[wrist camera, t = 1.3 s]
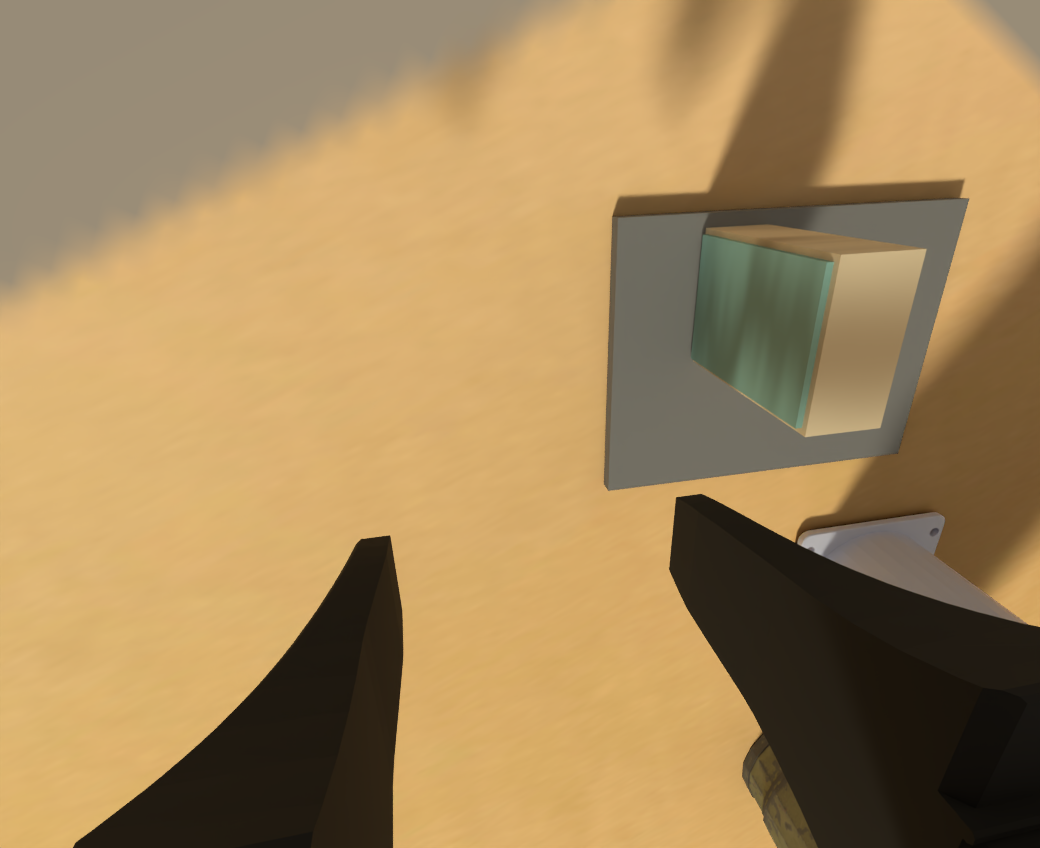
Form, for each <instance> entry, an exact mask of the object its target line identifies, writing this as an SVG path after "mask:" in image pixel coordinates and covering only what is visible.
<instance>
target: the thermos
mask: <svg viewBox="0 0 1040 848" xmlns="http://www.w3.org/2000/svg"><path fill="white" fill-rule="evenodd" d="M742 777H743V779H744V781H745V783H746V785H747V788H748V789H749V791H750V793H751V795H752V797H754V798H755V800H756V802H757V803H758V805H759V807H760V809H761V811H762V814H763V816H764V819H763V821H764V823H765V825H766V827H767V829H768V831H769V833H770V835H771V837H772V839H773V841H774V842H775V844H776V846H777V848H818V847H817V845H816V842H815V840H814V838H813V836H812V833H811V831H810V829H809V827H808V825H807V822H806V820H805V818H804V816H803V813H802V811H801V809H800V807H799V805H798V803H797V801H796V798H795V796H794V794H793V792H792V790H791V788H790V786H789V784H788V782H787V780H786V778H785V776H784V774H783V771H782V769H781V767H780V765H779V763H778V761H777V759H776V757H775V755H774V753H773V751H772V749H771V747H770V745H769V743H768V741H767V739H766V737H765V736H764V734H763V735H762V736H761V737H760V738H759V739H758V741H757V742H756V743H755V744H754V745H753V746H752V747H751V749H750V751H749V753H748V755H747V757H746V759H745V761H744V763H743V774H742Z"/></svg>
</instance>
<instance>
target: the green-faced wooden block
mask: <svg viewBox="0 0 1040 848" xmlns="http://www.w3.org/2000/svg"><path fill="white" fill-rule="evenodd" d="M926 250H927V249H925V248H918V247H912V246H905V245H899V244H892V243H886V242H879V241H873V240H866V239H860V238H854V237H847V236H841V235H834V234H828V233H821V232H815V231H808V230H802V229H795V228H789V227H782V226H776V225H769V224H763V225H746V226H729V227H712V228H706V233H705V235H703V238H702V248H701V259H700V269H699V279H698V290H697V300H696V310H695V321H694V331H693V341H692V352H691V359H693V362H695V363H696V364H698V365H699V366H701V367H702V368H704V369H705V370H707V371H708V372H710V373H711V374H712V375H714V376H715V377H717V378H718V379H720V380H721V381H723V382H724V383H726V384H727V385H729V386H730V387H732V388H733V389H735V390H736V391H738V392H739V393H741V394H742V395H743V396H745V397H746V398H748V399H749V400H751V401H752V402H754V403H755V404H757V405H758V406H760V407H761V408H763V409H764V410H766V411H767V412H769V413H770V414H772V415H773V416H774V417H776V418H777V419H779V420H780V421H782V422H783V423H785V424H786V425H788V426H789V427H791V428H792V429H794V430H795V431H797V432H798V433H800V434H801V435H802V436H804V437H811V436H819V435H827V434H835V433H844V432H852V431H860V430H869V429H877V428H880V427H881V424H882V420H883V416H884V412H885V408H886V404H887V400H888V397H889V393H890V389H891V385H892V381H893V377H894V373H895V370H896V366H897V362H898V358H899V354H900V350H901V346H902V343H903V339H904V335H905V331H906V327H907V323H908V320H909V316H910V312H911V308H912V304H913V300H914V296H915V293H916V289H917V285H918V281H919V277H920V273H921V269H922V266H923V262H924V258H925V254H926Z"/></svg>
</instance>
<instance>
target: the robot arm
mask: <svg viewBox="0 0 1040 848" xmlns="http://www.w3.org/2000/svg"><path fill="white" fill-rule="evenodd" d="M944 523H945V518H944V516H942V515H941V514H939V513H938V512H931V513H924V514H917V515H910V516H903V517H897V518H890V519H883V520H876V521H870V522H863V523H856V524H849V525H843V526H836V527H829V528H822V529H816V530H809V531H806V532H804V533H802V534H801V535H800V537H799V539H798V543H797V544H796V543H794V542H792V541H790V540H789V539H787V538H785V537H783V536H781V535H779V534H777V533H775V532H773V531H771V530H769V529H767V528H766V527H764V526H762V525H760V524H758V523H756V522H754V521H753V520H751V519H749V518H747V517H745V516H743V515H742V514H740V513H738V512H736V511H734V510H732V509H731V508H729V507H727V506H725V505H723V504H721V503H719V502H717V501H715V500H713V499H711V498H709V497H707V496H705V495H702V494H698V495H690V496H683V497H676V504H675V515H674V525H673V536H672V546H671V557H670V567H669V570H670V572H671V575H672V577H673V579H674V581H675V584H676V586H677V588H678V590H679V593H680V595H681V597H682V599H683V601H684V603H685V605H686V607H687V609H688V611H689V612H690V614H691V616H692V617H693V619H694V620H695V622H696V623H697V625H698V627H699V628H700V630H701V631H702V633H703V635H704V636H705V638H706V639H707V641H708V642H709V644H710V646H711V647H712V649H713V650H714V652H715V653H716V655H717V656H718V658H719V659H720V661H721V663H722V664H723V666H724V667H725V669H726V670H727V672H728V673H729V675H730V677H731V678H732V680H733V681H734V683H735V684H736V686H737V687H738V689H739V691H740V692H741V694H742V695H743V697H744V699H745V700H746V702H747V704H748V706H749V707H750V709H751V711H752V712H753V714H754V716H755V718H756V720H757V722H758V724H759V726H760V728H761V730H762V732H763V734H764V736H765V737H766V739H767V741H768V743H769V745H770V747H771V749H772V751H773V753H774V755H775V757H776V759H777V761H778V763H779V765H780V767H781V769H782V771H783V774H784V776H785V778H786V780H787V782H788V784H789V786H790V788H791V790H792V792H793V794H794V796H795V798H796V801H797V803H798V805H799V807H800V809H801V811H802V813H803V816H804V818H805V820H806V822H807V825H808V827H809V829H810V831H811V833H812V836H813V838H814V840H815V842H816V845H817V847H818V848H1040V627H1037V626H1032V625H1028V624H1027V623H1025V622H1024V621H1023V620H1021V619H1020V618H1019V617H1017V616H1016V615H1014V614H1013V613H1012V612H1010V611H1009V610H1008V609H1006V608H1005V607H1004V606H1002V605H1001V604H1000V603H998V602H997V601H995V600H994V599H993V598H991V597H990V596H989V595H987V594H986V593H985V592H983V591H982V590H981V589H979V588H978V587H976V586H975V585H974V584H972V583H971V582H970V581H968V580H967V579H966V578H964V577H963V576H961V575H960V574H959V573H957V572H956V571H955V570H953V569H952V568H951V567H949V566H948V565H947V564H945V563H944V562H942V561H941V560H940V559H938V558H937V557H936V556H934V553H935V550H936V547H937V544H938V541H939V538H940V535H941V532H942V529H943V526H944ZM402 665H403V620H402V606H401V600H400V594H399V587H398V581H397V575H396V569H395V563H394V556H393V550H392V544H391V538H390V536H382V537H375V538H367V539H361V540H360V541H359V542H358V543H357V544H356V545H355V547H354V549H353V551H352V553H351V555H350V557H349V559H348V561H347V562H346V564H345V566H344V568H343V570H342V571H341V573H340V575H339V576H338V578H337V580H336V581H335V583H334V585H333V586H332V588H331V589H330V591H329V592H328V594H327V596H326V597H325V599H324V600H323V602H322V603H321V605H320V606H319V608H318V609H317V611H316V612H315V614H314V615H313V617H312V618H311V619H310V621H309V622H308V624H307V625H306V626H305V628H304V629H303V630H302V632H301V633H300V635H299V636H298V637H297V639H296V640H295V641H294V643H293V644H292V645H291V647H290V648H289V649H288V650H287V652H286V653H285V654H284V655H283V657H282V658H281V659H280V660H279V662H278V663H277V664H276V665H275V666H274V668H273V669H272V670H271V671H270V672H269V673H268V675H267V676H266V677H265V678H264V679H263V680H262V681H261V683H260V684H259V685H258V686H257V687H256V688H255V689H254V690H253V691H252V692H251V693H250V694H249V695H248V697H247V698H246V699H245V700H244V701H243V702H242V703H241V704H240V705H239V706H238V707H237V708H236V709H235V710H234V711H233V712H232V713H231V714H230V715H229V716H228V717H227V718H226V719H225V720H224V721H223V722H222V723H221V724H220V725H219V726H218V727H217V728H216V729H215V730H214V731H213V732H212V733H211V734H210V735H208V736H207V737H206V738H205V739H204V740H203V741H202V742H201V743H200V744H199V745H197V746H196V747H195V748H194V749H193V750H192V751H191V752H190V753H189V754H187V755H186V756H185V757H184V758H183V759H182V760H180V761H179V762H178V763H177V764H176V765H174V766H173V767H172V768H171V769H170V770H169V771H167V772H166V773H165V774H164V775H163V776H162V777H160V778H159V779H158V780H157V781H155V782H154V783H153V784H152V785H151V786H149V787H148V788H147V789H146V790H144V791H143V792H142V793H140V794H139V795H138V796H137V797H135V798H134V799H133V800H131V801H130V802H129V803H127V804H126V805H125V806H124V807H122V808H121V809H120V810H118V811H117V812H116V813H114V814H113V815H112V816H111V817H109V818H108V819H107V820H105V821H104V822H103V823H101V824H100V825H99V826H98V827H96V828H95V829H94V830H92V831H91V832H90V833H88V834H87V835H85V836H84V837H83V838H81V839H80V840H79V841H77V842H76V843H75V845H74V847H73V848H393V770H394V755H395V744H396V733H397V721H398V710H399V699H400V688H401V677H402Z"/></svg>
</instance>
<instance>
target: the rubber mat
mask: <svg viewBox="0 0 1040 848" xmlns="http://www.w3.org/2000/svg"><path fill="white" fill-rule="evenodd" d="M968 201H969V199H967V198H945V199H926V200H908V201H889V202H871V203H853V204H834V205H816V206H797V207H779V208H760V209H742V210H724V211H705V212H687V213H668V214H650V215H631V216H613V217H612V248H611V280H610V311H609V342H608V374H607V405H606V436H605V468H604V485H605V486H606V488H607V489H608V491H611V490H618V489H626V488H634V487H642V486H649V485H657V484H665V483H673V482H680V481H688V480H696V479H704V478H711V477H719V476H727V475H735V474H742V473H750V472H758V471H766V470H773V469H781V468H789V467H797V466H805V465H812V464H820V463H828V462H836V461H843V460H851V459H859V458H867V457H874V456H882V455H890V454H898V451H899V448H900V444H901V441H902V437H903V433H904V430H905V426H906V423H907V419H908V416H909V412H910V408H911V405H912V401H913V398H914V394H915V391H916V387H917V383H918V380H919V376H920V373H921V369H922V366H923V362H924V358H925V355H926V351H927V348H928V344H929V341H930V337H931V333H932V330H933V326H934V323H935V319H936V316H937V312H938V308H939V305H940V301H941V298H942V294H943V291H944V287H945V283H946V280H947V276H948V273H949V269H950V266H951V262H952V258H953V255H954V251H955V248H956V244H957V241H958V237H959V233H960V230H961V226H962V223H963V219H964V216H965V212H966V209H967V205H968ZM763 224H769V225H776V226H782V227H789V228H795V229H802V230H808V231H815V232H821V233H828V234H834V235H841V236H847V237H854V238H860V239H866V240H873V241H879V242H886V243H892V244H899V245H905V246H912V247H918V248H925V249H927V250H926V254H925V258H924V262H923V266H922V269H921V273H920V277H919V281H918V285H917V289H916V293H915V296H914V300H913V304H912V308H911V312H910V316H909V320H908V323H907V327H906V331H905V335H904V339H903V343H902V346H901V350H900V354H899V358H898V362H897V366H896V370H895V373H894V377H893V381H892V385H891V389H890V393H889V397H888V400H887V404H886V408H885V412H884V416H883V420H882V424H881V427H880V428H877V429H869V430H860V431H852V432H844V433H835V434H827V435H819V436H811V437H804V436H802V435H801V434H800V433H798V432H797V431H795V430H794V429H792V428H791V427H789V426H788V425H786V424H785V423H783V422H782V421H780V420H779V419H777V418H776V417H774V416H773V415H772V414H770V413H769V412H767V411H766V410H764V409H763V408H761V407H760V406H758V405H757V404H755V403H754V402H752V401H751V400H749V399H748V398H746V397H745V396H743V395H742V394H741V393H739V392H738V391H736V390H735V389H733V388H732V387H730V386H729V385H727V384H726V383H724V382H723V381H721V380H720V379H718V378H717V377H715V376H714V375H712V374H711V373H710V372H708V371H707V370H705V369H704V368H702V367H701V366H699V365H698V364H696V363H695V362H693V359H691V352H692V341H693V331H694V321H695V310H696V300H697V290H698V279H699V269H700V259H701V248H702V238H703V235H705V233H706V228H712V227H729V226H746V225H763Z"/></svg>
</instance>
